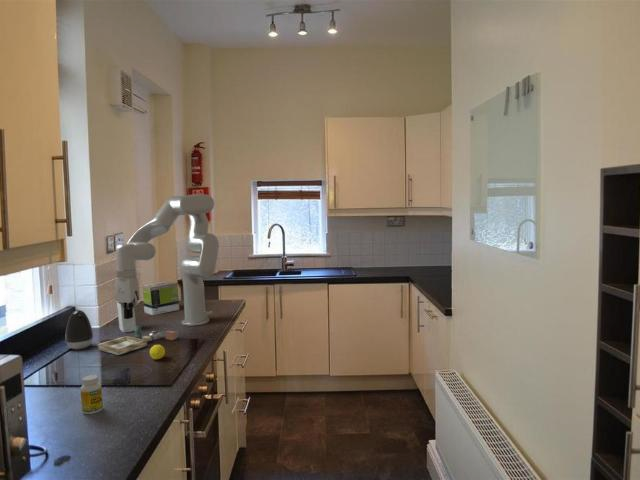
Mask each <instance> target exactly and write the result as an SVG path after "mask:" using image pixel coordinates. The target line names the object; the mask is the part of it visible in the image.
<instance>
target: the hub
mask: <svg viewBox="0 0 640 480" xmlns="http://www.w3.org/2000/svg"><path fill="white" fill-rule="evenodd" d="M148 336H149V337H151V340H152V341H158V340H161V339H162V332H161V331H159V330H158V329H155V330H151V331H150V332H149V333H148Z"/></svg>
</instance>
